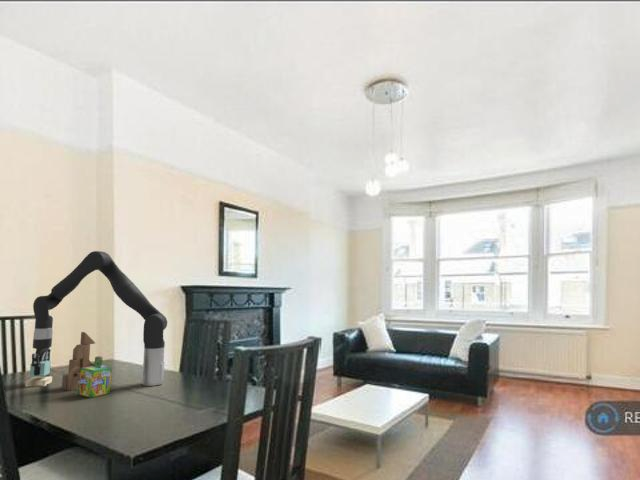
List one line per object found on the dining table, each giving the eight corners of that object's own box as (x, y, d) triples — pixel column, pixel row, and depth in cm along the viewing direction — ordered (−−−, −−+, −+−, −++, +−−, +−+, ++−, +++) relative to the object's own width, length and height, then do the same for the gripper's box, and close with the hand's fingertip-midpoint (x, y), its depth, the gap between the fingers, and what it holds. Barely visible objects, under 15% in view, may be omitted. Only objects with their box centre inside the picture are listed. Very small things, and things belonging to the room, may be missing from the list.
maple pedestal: (51, 382, 199) (52, 376, 199) (44, 386, 191) (45, 380, 191) (33, 383, 197) (33, 377, 197) (25, 387, 189) (25, 381, 189)
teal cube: (49, 373, 198) (50, 360, 198) (43, 376, 192) (45, 363, 193) (35, 373, 197) (36, 361, 197) (29, 376, 191) (30, 363, 191)
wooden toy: (70, 391, 183) (75, 334, 185) (61, 389, 186) (65, 333, 188) (102, 383, 197) (105, 330, 199) (93, 382, 200) (96, 330, 202)
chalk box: (77, 395, 177) (80, 360, 178) (98, 390, 185) (100, 357, 186) (90, 398, 172) (93, 362, 174) (110, 393, 180) (113, 359, 182)
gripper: (44, 339, 190) (41, 376, 188) (57, 335, 204) (55, 370, 202) (26, 339, 188) (23, 377, 187) (40, 335, 202) (38, 370, 201)
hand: (39, 373), depth 194 cm, fingers closed on teal cube, 6 cm apart
